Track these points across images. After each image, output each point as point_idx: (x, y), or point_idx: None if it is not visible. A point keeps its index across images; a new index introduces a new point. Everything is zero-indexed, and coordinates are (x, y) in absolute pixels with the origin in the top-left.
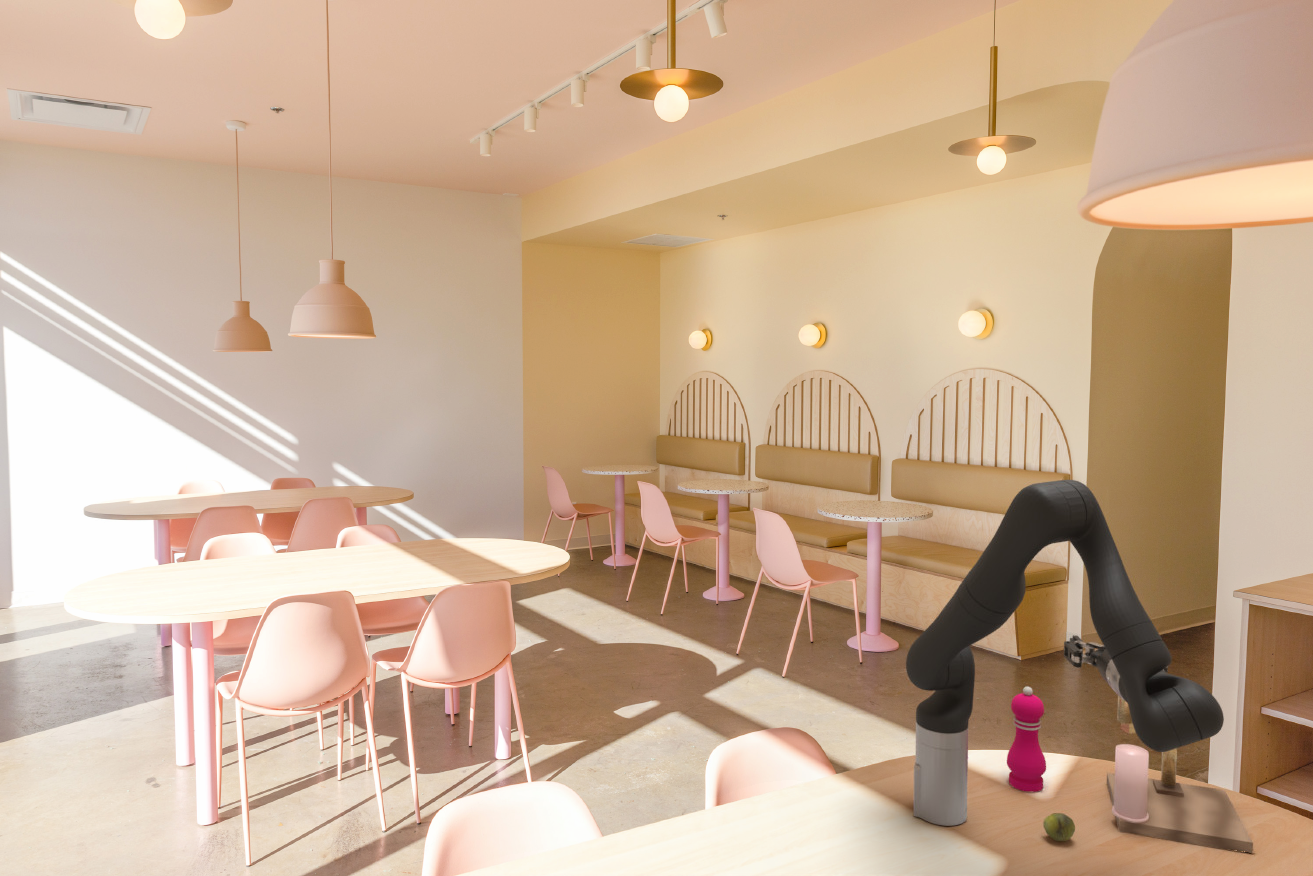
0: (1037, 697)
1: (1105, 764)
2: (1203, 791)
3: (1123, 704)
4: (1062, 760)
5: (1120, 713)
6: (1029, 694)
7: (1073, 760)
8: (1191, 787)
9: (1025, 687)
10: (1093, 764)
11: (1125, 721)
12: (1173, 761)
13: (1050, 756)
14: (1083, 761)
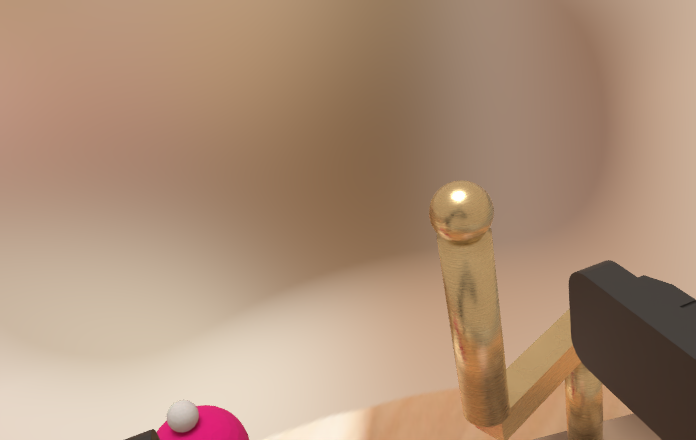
0: (218, 420)
1: (426, 403)
2: (651, 432)
3: (478, 378)
4: (341, 434)
5: (472, 402)
6: (188, 428)
7: (363, 421)
8: (622, 429)
9: (170, 410)
10: (404, 416)
11: (491, 421)
12: (599, 419)
13: (316, 430)
14: (383, 414)
